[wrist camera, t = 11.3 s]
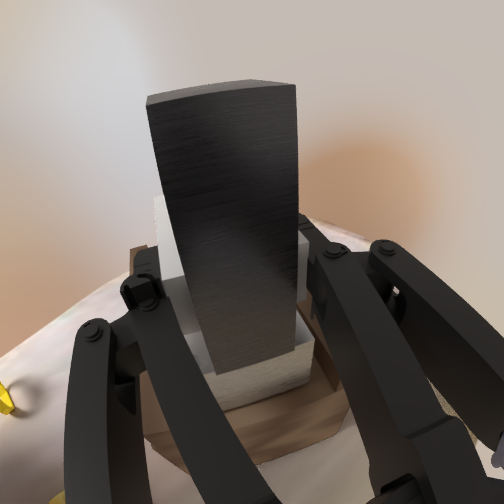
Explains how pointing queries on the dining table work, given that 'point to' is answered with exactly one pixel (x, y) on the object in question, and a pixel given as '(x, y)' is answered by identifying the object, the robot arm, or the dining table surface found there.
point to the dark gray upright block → (236, 230)
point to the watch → (5, 401)
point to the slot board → (266, 407)
